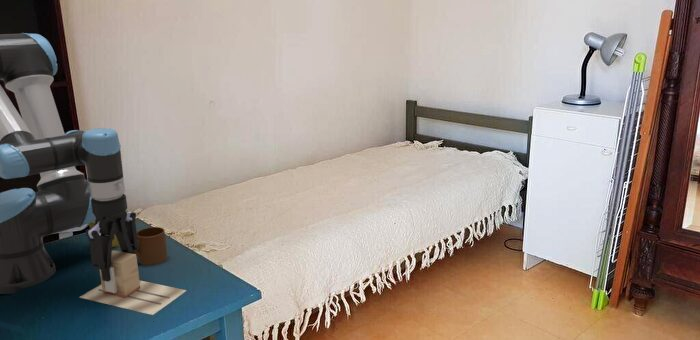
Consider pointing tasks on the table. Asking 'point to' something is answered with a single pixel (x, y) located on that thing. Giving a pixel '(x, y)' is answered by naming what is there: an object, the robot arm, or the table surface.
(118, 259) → the block
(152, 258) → the mug
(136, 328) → the table surface
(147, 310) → the board
